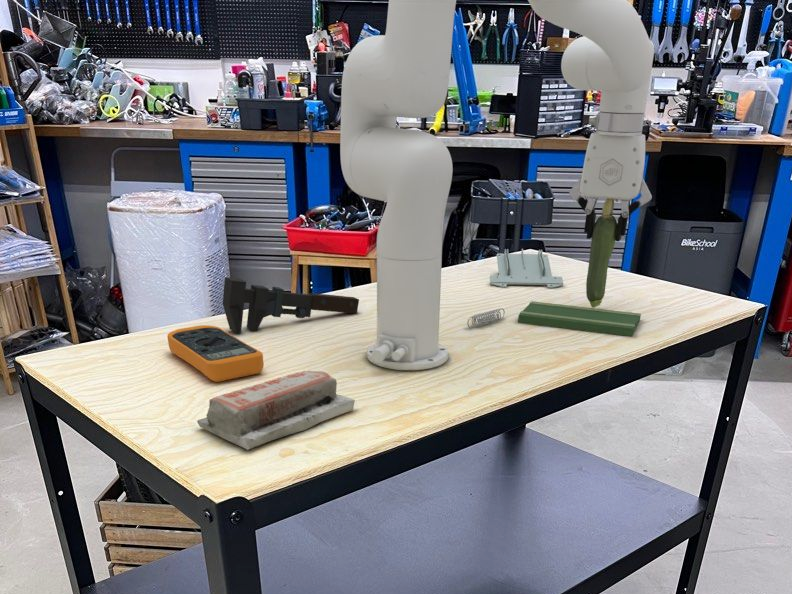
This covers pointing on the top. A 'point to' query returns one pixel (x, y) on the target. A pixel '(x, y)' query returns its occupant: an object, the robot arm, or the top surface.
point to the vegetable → (601, 253)
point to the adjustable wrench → (276, 303)
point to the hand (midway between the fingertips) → (604, 237)
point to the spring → (486, 318)
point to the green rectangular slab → (580, 318)
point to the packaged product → (275, 408)
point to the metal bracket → (524, 270)
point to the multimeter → (215, 352)
